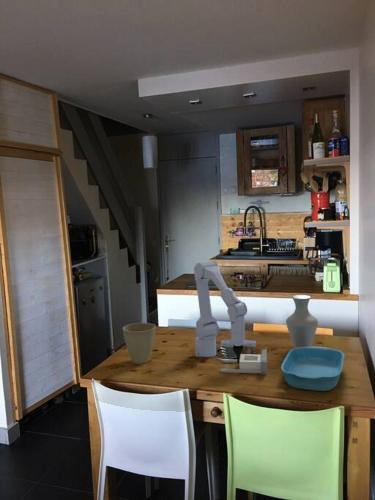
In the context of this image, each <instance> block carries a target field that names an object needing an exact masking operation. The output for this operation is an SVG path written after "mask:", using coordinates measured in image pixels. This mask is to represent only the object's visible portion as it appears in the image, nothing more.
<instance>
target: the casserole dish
mask: <svg viewBox="0 0 375 500" xmlns="http://www.w3.org/2000/svg"><path fill="white" fill-rule="evenodd" d="M344 360H345V353H344V352H342V351H341V350H340V349H339V350H338V349H333V348H329V347H326V346H325V347H324V346H314V345H313V346H312V345H311V346H309V347H296V348H295V347H294V348H291V349H290V350H289V351H288V352H287V354H286V355H285V358H284V360H283V361H282V363H281V366H280V369H281V372H282V375H283V377H284V381H285V382H286V383H287V385H289V386H290V387H292V388H295V389H301V390H310V391H318V392H328V391H330V390H333V389H334V388H335V387H336V386H337V385H338V383H339V381H340V377H341V374H342V371H343V366H344Z"/></svg>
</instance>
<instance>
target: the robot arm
mask: <svg viewBox="0 0 375 500" xmlns="http://www.w3.org/2000/svg"><path fill="white" fill-rule="evenodd" d="M220 270H221V268H220V266H219V263H218V262H217V261H215V260H212V261H206V262H198V263H196V264H195V265H194V267H193V271H194V280H195V284H196V291H197V293H196V294H197V299H198V300H197V301H198V309H199V315H200V317H199V318H198V319H197V321H196V322H195V325H196V326H195V334H196V336H197V337H195V342H194V345H195V346H194V349H195V350H194V351H195V357H203V358H204V357H205V358H210V357H215V356H216V355H217V344H216V343H217V341H216V340H217V339H216V338H217V337H218V334H219V333H220V327H219V324H218V322H217V321H218V320H217V318H216V317H214V316H213V313H212V305H211V299H210V298H211V296H210V288H209V281H212V282H213V283H214V285H215V286H216V288H217V289H218V290H219V292H220V296H219V297H220V298H221V300H222V301H223V303H224V305H225V306H226V307H227V315H228V317H229V321H230V336H231V338H230V339H226V340H225V339H224V340H221V341H220V347H232V350H233V352H234V354H235V356H236V360H237V363H236V364H239V361H240V356H241V352H242V350H243V346H250V347H252V348H256V346H257V341H256V340H248V339H246V329H245V328H246V327H245V326H246V325H245V316H246V315H247V313H248V307H247V305H246V303H245V302H244V301H242V300H241V299H239V298H238V296H237V295H236V293H235V291H234V290H233V288H231V287H228V286H227V284H226V282H225V280H224V279H223V276H222V274H221V273H220Z"/></svg>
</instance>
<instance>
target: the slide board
mask: <svg viewBox="0 0 375 500" xmlns="http://www.w3.org/2000/svg"><path fill="white" fill-rule="evenodd" d="M222 363H226V364H227V363H231V364H235V363H236V364H238V363H237V359H230V358H229V359H227V358H225V359H223V362H222ZM220 373H239V374H240V373H243V374H247V373H248V374H262V370H250V369H240V368H238V369H237V368H220Z"/></svg>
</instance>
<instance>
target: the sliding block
mask: <svg viewBox="0 0 375 500" xmlns="http://www.w3.org/2000/svg"><path fill="white" fill-rule="evenodd" d="M261 359H262V354H251V353H250V354H241V355H240V361H239V365H238V367H239V369H250V370H262V368H261Z"/></svg>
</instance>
